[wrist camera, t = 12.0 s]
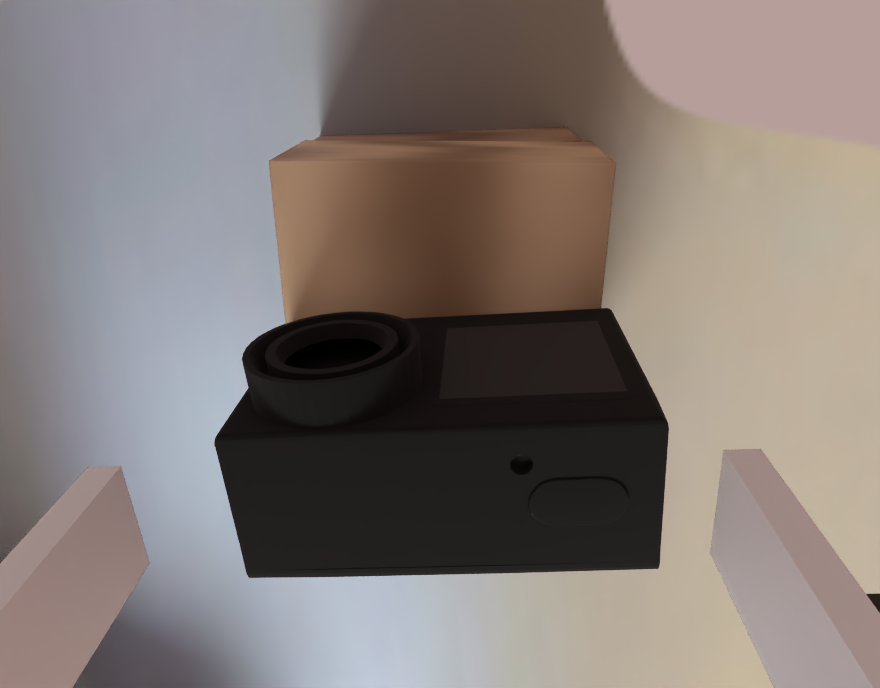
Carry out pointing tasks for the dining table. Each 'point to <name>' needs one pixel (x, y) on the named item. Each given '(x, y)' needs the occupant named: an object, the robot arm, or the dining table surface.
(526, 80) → the dining table surface
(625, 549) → the digital camera
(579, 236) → the tower top
